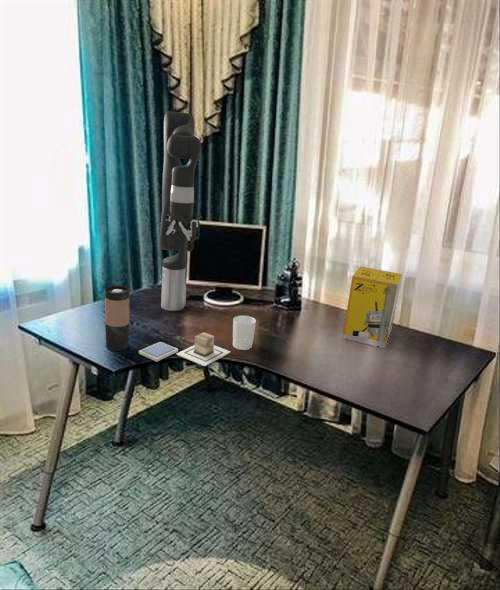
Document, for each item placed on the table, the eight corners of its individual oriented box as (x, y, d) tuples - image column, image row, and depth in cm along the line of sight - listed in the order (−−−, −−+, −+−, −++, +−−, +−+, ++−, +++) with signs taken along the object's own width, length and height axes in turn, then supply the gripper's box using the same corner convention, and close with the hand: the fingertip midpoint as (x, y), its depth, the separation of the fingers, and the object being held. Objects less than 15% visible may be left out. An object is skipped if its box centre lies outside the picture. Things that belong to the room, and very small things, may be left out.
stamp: (202, 348, 166) (203, 332, 164) (213, 352, 164) (214, 336, 162) (193, 352, 162) (194, 336, 160) (204, 357, 160) (205, 340, 158)
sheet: (203, 341, 172) (203, 340, 172) (230, 352, 166) (230, 351, 166) (176, 354, 161) (176, 353, 160) (204, 366, 155) (204, 365, 154)
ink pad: (160, 344, 167) (160, 340, 166) (177, 351, 163) (178, 348, 162) (138, 353, 159) (138, 350, 158) (156, 361, 155) (156, 358, 154)
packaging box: (385, 349, 180) (398, 284, 172) (342, 338, 185) (352, 276, 177) (390, 334, 194) (402, 274, 186) (350, 324, 200) (360, 266, 192)
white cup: (257, 345, 173) (259, 319, 170) (247, 353, 167) (250, 326, 163) (237, 339, 176) (239, 313, 173) (227, 347, 169) (229, 320, 166)
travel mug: (133, 344, 165) (134, 288, 158) (120, 353, 158) (120, 295, 151) (114, 339, 167) (114, 284, 160) (100, 348, 160) (99, 290, 154)
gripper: (206, 202, 158) (203, 251, 163) (173, 196, 165) (171, 242, 171) (191, 204, 152) (188, 254, 157) (157, 197, 159) (156, 245, 165)
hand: (179, 248), depth 164 cm, fingers open, 8 cm apart
